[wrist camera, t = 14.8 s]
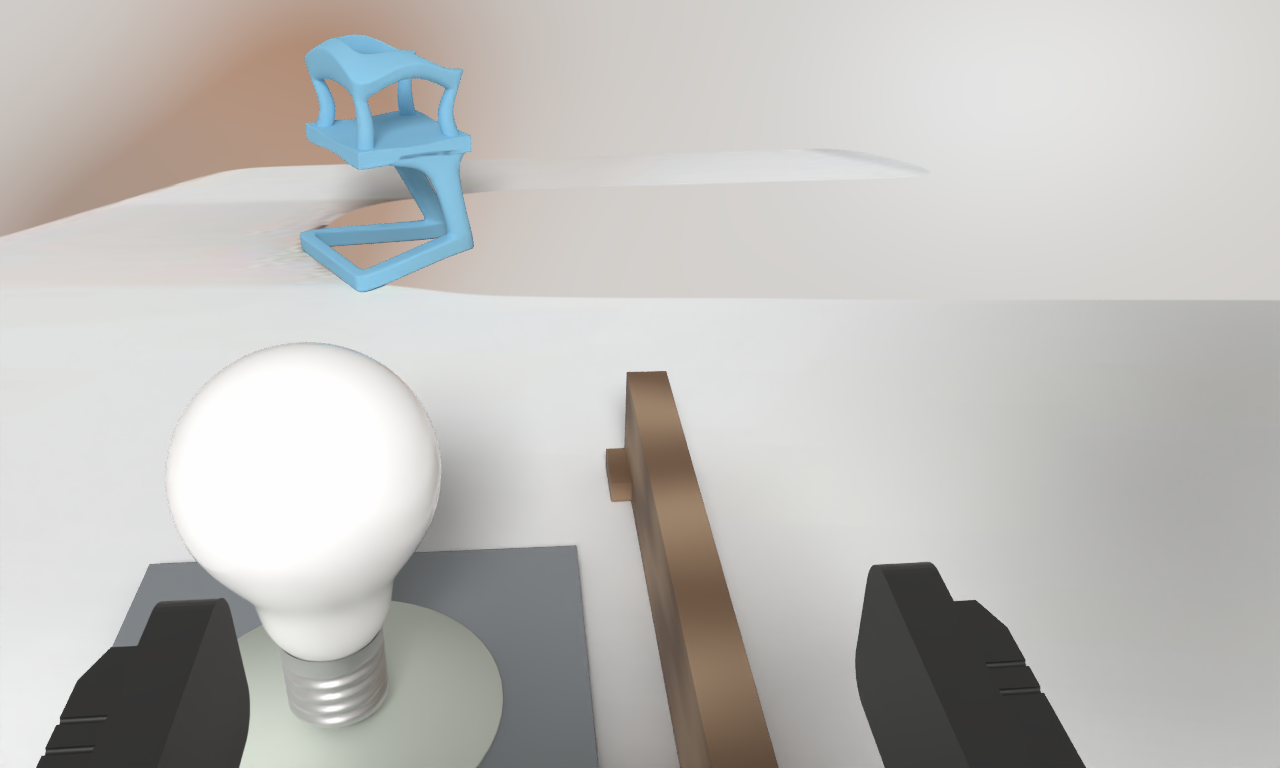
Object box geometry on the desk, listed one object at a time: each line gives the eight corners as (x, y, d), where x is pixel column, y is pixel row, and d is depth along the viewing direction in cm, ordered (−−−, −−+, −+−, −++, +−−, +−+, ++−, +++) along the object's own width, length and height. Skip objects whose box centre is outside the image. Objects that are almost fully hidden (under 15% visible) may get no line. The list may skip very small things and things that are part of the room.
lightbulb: (167, 749, 28) (74, 384, 23) (324, 606, 34) (277, 281, 28) (363, 839, 26) (310, 459, 21) (500, 672, 31) (485, 332, 26)
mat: (152, 576, 36) (148, 560, 35) (576, 557, 37) (576, 542, 37) (-29, 985, 23) (-36, 966, 23) (612, 931, 25) (612, 913, 25)
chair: (496, 261, 61) (491, 41, 55) (358, 293, 56) (337, 57, 50) (430, 221, 66) (418, 16, 60) (298, 247, 61) (273, 28, 55)
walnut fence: (605, 461, 43) (606, 372, 41) (680, 459, 43) (685, 370, 41) (723, 1225, 20) (739, 1105, 18) (880, 1207, 20) (912, 1087, 18)
